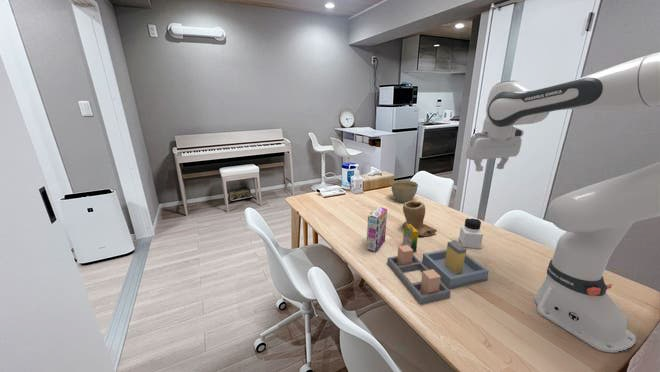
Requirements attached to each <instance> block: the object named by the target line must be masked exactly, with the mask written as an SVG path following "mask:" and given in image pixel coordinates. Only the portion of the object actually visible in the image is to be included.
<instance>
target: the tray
mask: <svg viewBox="0 0 660 372" xmlns="http://www.w3.org/2000/svg"><path fill="white" fill-rule="evenodd" d="M446 251H447V248H446V249H442V250H436V251H431V252H425V253H422V260H421V262H422V263H423V264H424V265H425V266H426V267H427V268H428V269H429V270H431V269H433V270H434V271H435V272H437V273H438V274H439V275H440V276H441V278H440V281H441V282H442V283H443V284H444V285H445V286H446V287H447V288H448V289H449V290H450V289H455V288H460V287H465V286H468V285H472V284H476V283H480V282H481V283H482V282H486V281H488V278H489V272H490V270H489V269H487V268H486V267H484V266H483V265H482V264H481V263H480V262H478V261H476V259H474V258H472V257H471V256H470V255H469V254H467V253H465V259H464V265H463V271H462V273H458V274H455V273H453V272H452V271H451V270H450V269H449V268H448V267H447V266H446V265H445V258H446Z"/></svg>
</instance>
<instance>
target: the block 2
mask: <svg viewBox="0 0 660 372" xmlns="http://www.w3.org/2000/svg"><path fill="white" fill-rule="evenodd" d="M440 278H441V276H440V275H439V274H438V273H437V272H435V271H434V270H433V269H431V270H427V271H423V272H422V271H421V281H420V282H421V289H420V290H419V292H420V293H421V295H427V294H431V293H435V292H439V291H440V290H439V285H440V281H441V280H440Z"/></svg>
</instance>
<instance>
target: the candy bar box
mask: <svg viewBox="0 0 660 372" xmlns="http://www.w3.org/2000/svg"><path fill="white" fill-rule="evenodd" d="M387 218H388V208H385V207H380V206H377V207H376V208H375V209H374V210H373V211H372V212H371V211H370V213H369V214H368V216H367V229H366V230H367V233H366V250H368V251H371V252H374V253H377V252H378V251H379V249H380V248H381V247H382V246H383V244H384V243H385V242H386V232H387Z"/></svg>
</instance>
